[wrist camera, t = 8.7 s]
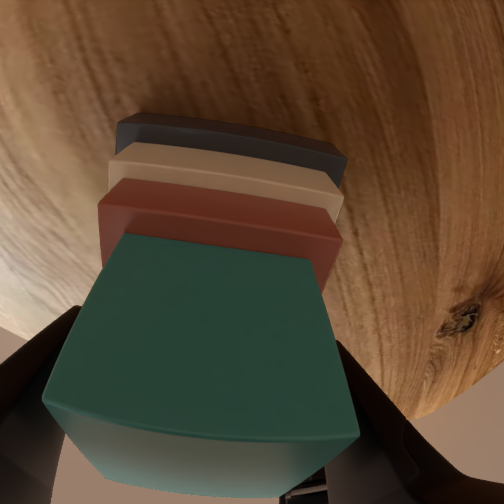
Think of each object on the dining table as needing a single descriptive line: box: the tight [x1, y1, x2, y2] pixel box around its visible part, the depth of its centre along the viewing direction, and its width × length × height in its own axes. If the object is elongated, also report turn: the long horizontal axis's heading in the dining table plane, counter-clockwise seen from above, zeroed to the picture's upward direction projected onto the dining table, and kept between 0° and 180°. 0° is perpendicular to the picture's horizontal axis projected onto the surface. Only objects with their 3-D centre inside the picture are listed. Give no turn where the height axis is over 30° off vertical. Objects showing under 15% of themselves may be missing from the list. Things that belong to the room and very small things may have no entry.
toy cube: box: [42, 233, 360, 498], centre depth 7 cm, size 5×5×5 cm
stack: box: [98, 113, 348, 294], centre depth 12 cm, size 9×9×7 cm
